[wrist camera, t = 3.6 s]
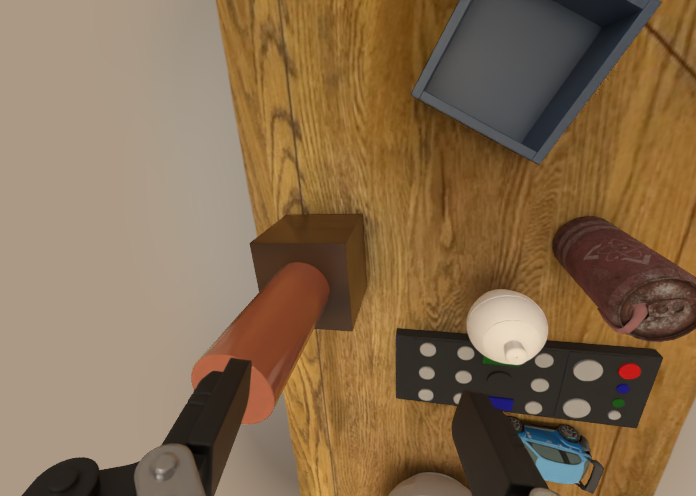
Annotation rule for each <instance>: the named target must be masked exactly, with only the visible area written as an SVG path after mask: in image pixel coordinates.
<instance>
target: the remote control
mask: <svg viewBox="0 0 696 496" xmlns="http://www.w3.org/2000/svg"><path fill="white" fill-rule="evenodd" d="M662 359H663V357H662V356H661V355H660V354H659V353H658V352H657V351H656V350H655V349H644V348H632V347H619V346H607V345H595V344H583V343H570V342H558V341H546V343H545V345H544V346H543V348H542V349H541V351H540V352H539V353H538V354H537V355H535V356H534V357H533V358H532V359H530V360H528V361H526V362H525V363H523V364H521V365H513V364H504V363H500V362H496V361H494V360H491V359H489V358H487V357H486V356H484V355H483V354H481V353H480V352H479V351H478V350H477V349H476V348H475V347H474V345H473V344H472V342H471V341H470V338H469V336H468V334H459V333H447V332H435V331H423V330H410V329H398V328H397V334H396V398H399V399H407V400H415V401H423V402H431V403H439V404H447V405H455V406H458V403H459V400H460V397H461V394H462V392H463V391H464V390H470V391H478V392H484V393H486V394H487V395H488V397H489V399H490V401H491V403H492V405H493V407H494V408H495V409H500V410H501V411H503V412H511V413H519V414H527V415H535V416H543V417H551V418H559V419H567V420H575V421H583V422H591V423H599V424H607V425H615V426H623V427H631V428H637V426H638V423H639V421H640V418H641V415H642V413H643V410H644V407H645V405H646V402H647V399H648V397H649V394H650V391H651V389H652V386H653V383H654V381H655V378H656V375H657V373H658V370H659V367H660V365H661V362H662Z"/></svg>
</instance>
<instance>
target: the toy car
mask: <svg viewBox="0 0 696 496" xmlns="http://www.w3.org/2000/svg"><path fill="white" fill-rule="evenodd" d="M508 418H509V419H510V420H511V422H512V423H513V425H514V427H516V428H515V429H516V431H517V432H518V434H519V435H518V436H519V437H520V438H521V440H522V441H523V443H524V445H525V448H526V449H527V450H528V452H529V454H530V456H531V457H532V459H533V461H534V463H535V465H536V466H537V468H538V470H539V472H540V474H541V475H542V477H543V479H544V480H546V481H551V482H555V483H562V484H576V485H578V486H579V487H580V488H581V489H583V490H585V491H588V492H590V493H592V494H593V493H594V491H595V489H596V487H597V485H598V483H599V480H600V478H601V476H602V473H603V471H604V468H603V466H602V465H601V464H600V463H599V462H598V461H596V460H592V456H591V454H590V452H591V450H590V446H589V444H588V442H587V440H586V439H585V438H584V437H583V436H582V435H581V436H580V435H579V434H578V432H577V431H576V430H575V429H574V428H572V427H570V426H568V425H560V426H559V428H558V430H557V428H550V427H544V426H537V425H530V424H523V426H522V425H521V422H520V421H518V420H517V419H516V418H514V417H508ZM579 437H580V438H579ZM579 439H580V440H579ZM578 442H579V443H578ZM590 463H592V464H593V465H594V467H593V470H592V473H591V476H590V478H589V480H588V482H587V484H586V485H585V486H584V485H583V484H582V482H581V480H582V479H583V478H584V477H585V475H586V473H587V470H588V468H589V465H590ZM578 482H579V483H580V484H581V485H580V484H577V483H578Z"/></svg>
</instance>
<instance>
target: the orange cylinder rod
mask: <svg viewBox="0 0 696 496" xmlns="http://www.w3.org/2000/svg"><path fill="white" fill-rule="evenodd" d="M329 296H330V288H329V284H328V282H327V280H326V278H325V276H324V275H323V274H322V273H321V272H320V271H319V270H318V269H317V268H315V267H313V266H311V265H309V264H306V263H301V262H294V263H290V264H287V265H285V266H283V267H282V268H281V269H280V270H279V271H278V272H277V273H276V274H275V275H274V277H273V278H272V279H271V280H270V281H269V282H268V283H267V284H266V286H265V287H264V288H263V289H262V290H261V291H260V292H259V293H258V294H257V296H256V297H255V298H254V299H253V300H252V301H251V302H250V303H249V305H248V306H247V307H246V308H245V309H244V310H243V311H242V312H241V313H240V314H239V316H238V317H237V318H236V319H235V320H234V321H233V322H232V323H231V325H230V326H229V327H228V328H227V329H226V330H225V331H224V332H223V333H222V335H221V336H220V337H219V338H218V339H217V340H216V341H215V342H214V344H213V345H212V346H211V347H210V348H209V349H208V350H207V351H206V352H205V353H204V355H203V356H202V357H201V358H200V359H199V360H198V361H197V362H196V364H195V365H194V368H193V370H192V375H191V380H192V385H193V388H194V390H195V389H196V387H197V385H198V384H199V382H200V380H201V379H202V378H204V377H205V376H206V375H208V374H209V373H210V372H211V371H221V372H223V371H224V369H225V367H226V365H227V363H228V361H229V360H230V358H237V359H244V360H251V361H252V368H251V380H250V393H249V399H248V404H247V408H246V411H245V414H244V417H243V419H242V422H241V424H255V423H259V422H261V421H263V420H265V419H266V418H267V417H269V416H270V414H271V413H272V411H273V409H274V407H275V405H276V403H277V401H278V399H279V397H280V395H281V393H282V391H283V390H284V388H285V386H286V384H287V382H288V380H289V378H290V376H291V374H292V372H293V370H294V368H295V366H296V364H297V362H298V360H299V358H300V356H301V354H302V352H303V350H304V348H305V346H306V344H307V342H308V340H309V338H310V336H311V334H312V332H313V330H314V328H315V326H316V324H317V322H318V320H319V318H320V316H321V314H322V312H323V310H324V308H325V306H326V304H327V302H328V300H329Z"/></svg>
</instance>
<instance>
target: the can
mask: <svg viewBox="0 0 696 496" xmlns="http://www.w3.org/2000/svg"><path fill="white" fill-rule="evenodd" d="M553 252H554V256H555V257H556V258H557V260H558V261H559V262H560V263H561V265H562V266H563V267H564V268H565V269H566V270H567V272H568V273H569V274H570V275H571V276H572V277H573V279H574V280H575V281H576V282H577V283H578V284H579V286H580V287H581V288H582V289H583V290H584V291H585V292H586V294H587V295H588V296H589V297H590V298H591V299H592V301H593V302H594V303H595V304H596V305H597V306H598V308H597V309H598V311H599V313H600V314H601V316H602V318H603V319H604V321H605V322H606V323H607V324H608V325H609V326H610V327H611V328H612V329H613V330H614V331H616V332H618V333H622V334H627V335H631V336H633V337H635V338H638V339H641V340H644V341H652V342H663V341H669V340H674V339H677V338H679V337H682V336H685V335H687V334H689V333H690V332H691V331H693V330H694V329H696V277H694V276H693V275H691V274H690V273H688V272H687V271H685V270H684V269H682V268H680V267H679V266H677V265H676V264H674V263H673V262H671V261H669V260H668V259H666V258H665V257H663V256H661V255H660V254H658V253H657V252H655V251H653V250H652V249H650V248H649V247H647V246H646V245H644V244H642V243H641V242H639V241H638V240H636V239H634V238H633V237H631V236H630V235H628V234H626V233H625V232H623V231H622V230H620V229H619V228H617V227H615V226H614V225H612V224H611V223H609V222H607V221H606V220H604V219H601V218H597V217H582V218H579V219H575V220H573V221H571V222H569V223H568V224H566V225H564V226H563V227H562V228H561V229H560V230H559V231H558V233H557V235H556V237H555V239H554V242H553Z"/></svg>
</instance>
